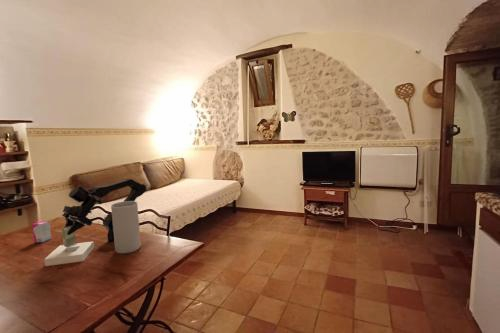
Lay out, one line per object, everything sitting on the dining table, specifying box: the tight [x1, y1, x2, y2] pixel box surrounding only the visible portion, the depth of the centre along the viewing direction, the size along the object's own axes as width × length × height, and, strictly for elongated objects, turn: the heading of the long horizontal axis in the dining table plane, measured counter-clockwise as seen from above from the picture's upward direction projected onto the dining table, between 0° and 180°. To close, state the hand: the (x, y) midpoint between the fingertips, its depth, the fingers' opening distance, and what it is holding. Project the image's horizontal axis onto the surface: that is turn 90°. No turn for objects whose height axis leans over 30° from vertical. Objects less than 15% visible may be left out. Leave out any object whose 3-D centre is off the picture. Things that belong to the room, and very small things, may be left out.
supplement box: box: [32, 220, 52, 244], centre depth 150 cm, size 6×6×12 cm
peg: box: [61, 226, 77, 247], centre depth 129 cm, size 4×4×10 cm
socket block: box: [44, 241, 95, 267], centre depth 130 cm, size 16×16×4 cm
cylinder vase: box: [110, 200, 142, 255], centre depth 135 cm, size 12×12×25 cm
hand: (65, 233), depth 127 cm, fingers closed on peg, 4 cm apart
